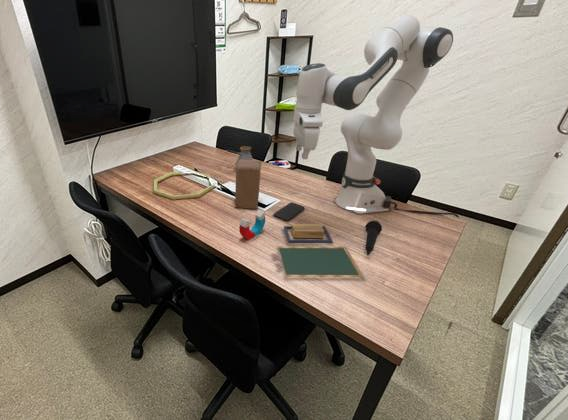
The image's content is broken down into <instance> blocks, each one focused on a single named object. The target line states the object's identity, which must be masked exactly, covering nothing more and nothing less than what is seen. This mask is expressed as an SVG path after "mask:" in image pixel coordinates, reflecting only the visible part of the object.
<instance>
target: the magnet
mask: <svg viewBox="0 0 568 420" xmlns="http://www.w3.org/2000/svg"><path fill="white" fill-rule="evenodd" d="M254 217H255V222H254V224H253V226H252V228H251V229H250V227H251V224H252V222H251V221H250V220H248V219H246V218H241V219H240V221H239V231H238V232H239V233H240V235H241V237H243V238H244V239H246V240H248V241H250V240H252V239H254V238H255V237H257V236H258V235H260V234H261V233H262V231H263V229H264V227H265V224H266V213H265V211H263V210H261V209H258V210H257V211H256V212H255V214H254Z"/></svg>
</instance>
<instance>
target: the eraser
mask: <svg viewBox="0 0 568 420" xmlns="http://www.w3.org/2000/svg"><path fill="white" fill-rule="evenodd" d="M291 226H292V227H291V229H290V232H291V233H290V234H291V236H292V240H324V236H325V231H324V229H323V227H322V226H323V225H322V224H321V223H291Z"/></svg>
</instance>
